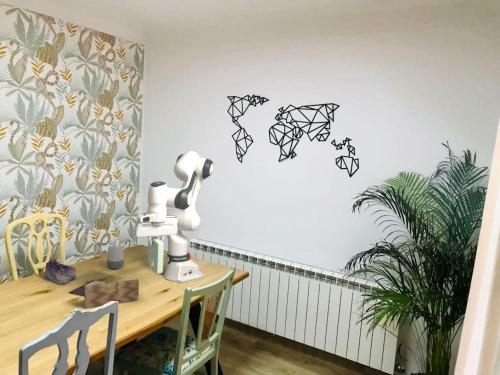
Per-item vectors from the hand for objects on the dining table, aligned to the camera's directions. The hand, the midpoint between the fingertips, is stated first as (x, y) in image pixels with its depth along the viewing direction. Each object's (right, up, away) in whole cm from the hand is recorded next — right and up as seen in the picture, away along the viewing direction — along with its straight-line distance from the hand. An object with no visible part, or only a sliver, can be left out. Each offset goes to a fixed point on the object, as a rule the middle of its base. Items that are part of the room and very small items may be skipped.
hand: (155, 244), depth 179 cm
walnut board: (-21, -28, 0) cm, 35 cm away
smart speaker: (-35, -21, +45) cm, 61 cm away
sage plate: (-1, -11, +1) cm, 11 cm away
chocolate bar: (-38, -25, +14) cm, 48 cm away
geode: (-58, -22, +23) cm, 67 cm away
